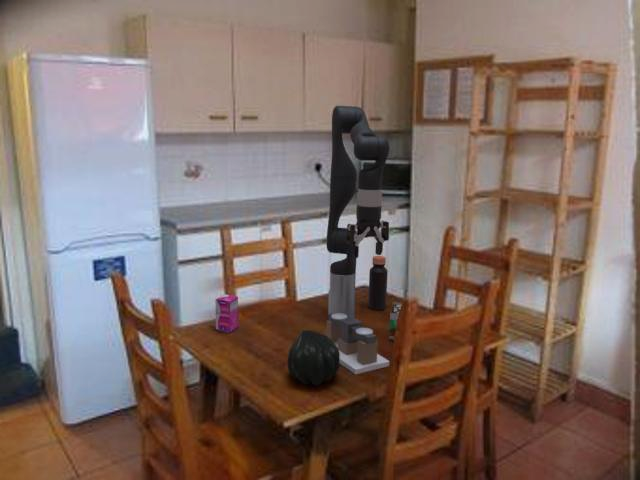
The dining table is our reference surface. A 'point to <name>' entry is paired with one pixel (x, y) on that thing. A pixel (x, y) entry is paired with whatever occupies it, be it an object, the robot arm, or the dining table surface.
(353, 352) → the display stand
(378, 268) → the bottle
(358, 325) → the grey white knobbed bar
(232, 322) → the supplement box
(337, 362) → the squash
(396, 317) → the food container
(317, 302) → the dining table surface
